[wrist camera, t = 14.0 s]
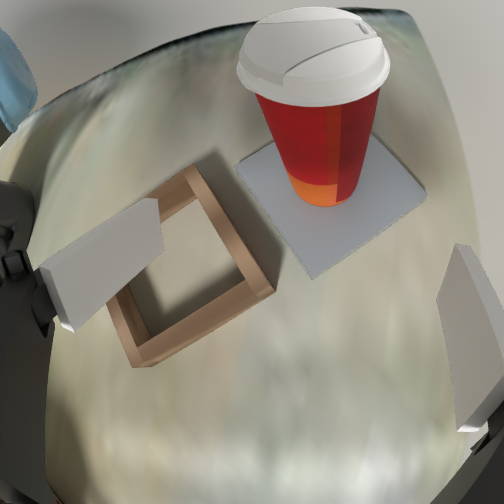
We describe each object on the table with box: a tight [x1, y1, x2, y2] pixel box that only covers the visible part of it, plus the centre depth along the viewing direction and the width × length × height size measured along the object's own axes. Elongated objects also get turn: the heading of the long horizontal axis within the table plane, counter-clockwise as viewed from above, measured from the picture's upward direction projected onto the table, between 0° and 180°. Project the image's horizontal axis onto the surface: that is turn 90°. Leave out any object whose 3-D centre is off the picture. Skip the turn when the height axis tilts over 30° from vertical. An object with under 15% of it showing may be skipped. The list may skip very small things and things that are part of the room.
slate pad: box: [234, 133, 428, 280], centre depth 25 cm, size 12×12×1 cm
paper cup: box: [236, 7, 390, 207], centre depth 18 cm, size 8×8×14 cm
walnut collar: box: [106, 164, 276, 368], centre depth 25 cm, size 12×12×3 cm
